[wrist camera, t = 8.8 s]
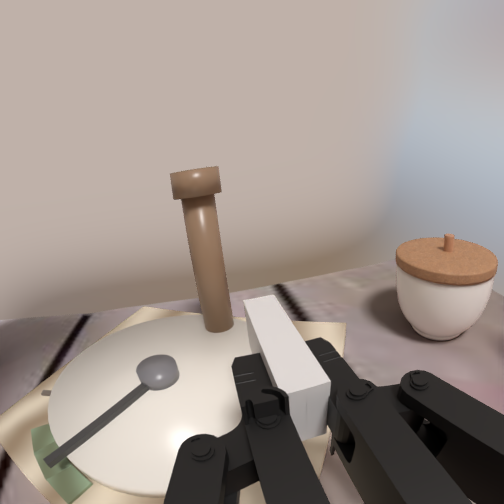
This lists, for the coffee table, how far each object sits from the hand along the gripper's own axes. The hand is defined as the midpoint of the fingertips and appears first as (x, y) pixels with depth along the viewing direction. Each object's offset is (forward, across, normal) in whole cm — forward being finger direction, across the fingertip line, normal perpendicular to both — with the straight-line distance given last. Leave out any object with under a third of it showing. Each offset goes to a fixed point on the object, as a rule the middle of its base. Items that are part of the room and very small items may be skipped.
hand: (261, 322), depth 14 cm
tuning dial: (+4, -7, -7) cm, 11 cm away
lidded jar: (+5, +19, -9) cm, 21 cm away
